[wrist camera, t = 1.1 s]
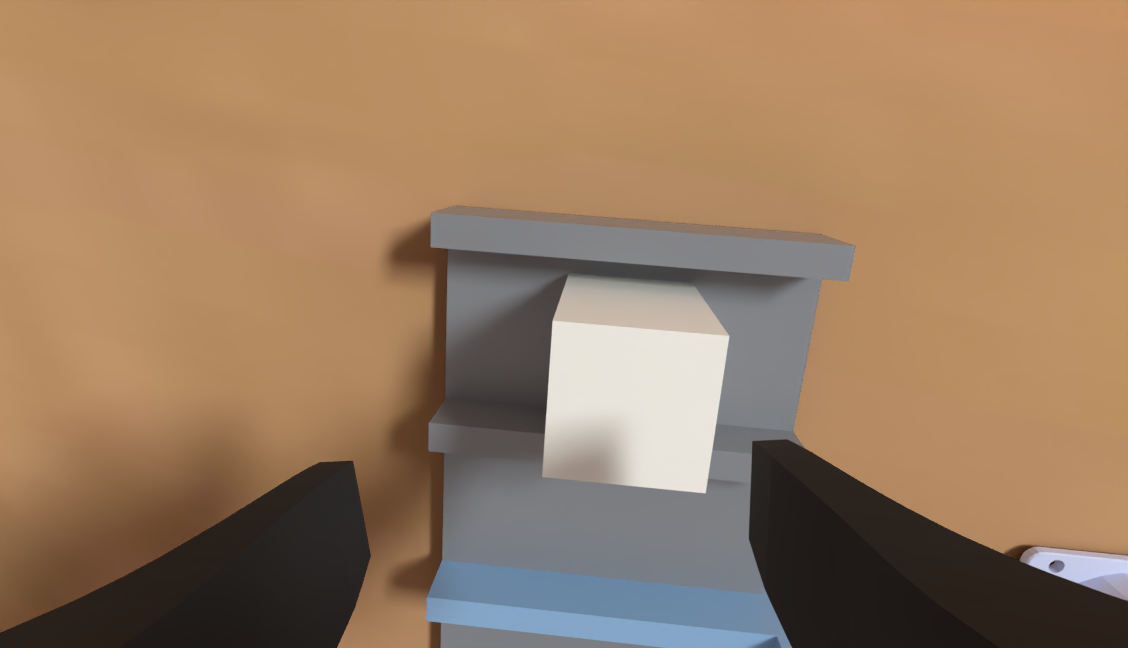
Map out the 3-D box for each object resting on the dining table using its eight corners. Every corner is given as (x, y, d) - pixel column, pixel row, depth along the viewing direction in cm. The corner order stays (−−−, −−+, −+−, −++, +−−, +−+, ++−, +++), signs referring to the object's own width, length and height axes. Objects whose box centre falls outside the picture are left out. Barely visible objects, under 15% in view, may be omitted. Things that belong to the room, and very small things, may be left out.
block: (692, 283, 19) (729, 336, 13) (677, 398, 20) (705, 493, 15) (569, 272, 19) (552, 320, 14) (560, 387, 20) (542, 477, 15)
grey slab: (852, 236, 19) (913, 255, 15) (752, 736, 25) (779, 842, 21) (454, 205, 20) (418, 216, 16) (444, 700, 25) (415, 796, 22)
